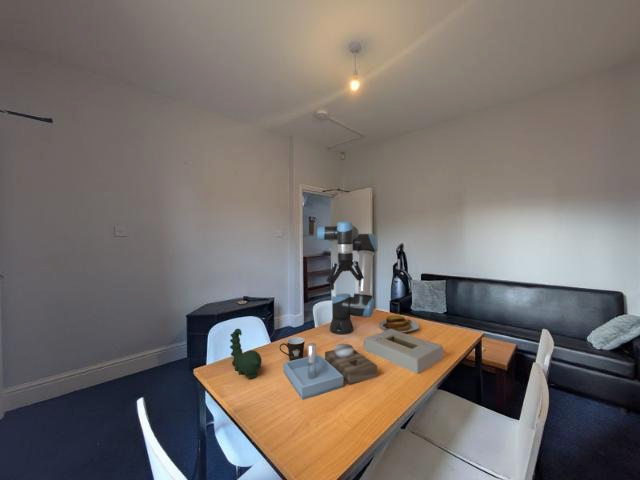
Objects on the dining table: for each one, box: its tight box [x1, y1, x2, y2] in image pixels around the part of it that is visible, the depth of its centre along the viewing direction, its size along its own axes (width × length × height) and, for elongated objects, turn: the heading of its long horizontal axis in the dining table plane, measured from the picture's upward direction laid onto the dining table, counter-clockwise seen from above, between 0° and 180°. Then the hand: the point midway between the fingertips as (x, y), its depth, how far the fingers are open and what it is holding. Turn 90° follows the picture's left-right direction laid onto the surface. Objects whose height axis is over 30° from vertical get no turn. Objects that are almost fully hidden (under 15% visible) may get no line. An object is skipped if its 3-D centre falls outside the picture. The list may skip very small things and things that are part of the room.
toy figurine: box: [229, 328, 262, 380], centre depth 118 cm, size 9×19×25 cm
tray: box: [283, 354, 344, 401], centre depth 111 cm, size 22×18×4 cm
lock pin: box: [307, 342, 317, 379], centre depth 111 cm, size 4×4×14 cm
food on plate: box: [379, 315, 421, 334], centre depth 173 cm, size 25×25×7 cm
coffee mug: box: [279, 336, 306, 361], centre depth 129 cm, size 12×9×10 cm
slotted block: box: [363, 329, 444, 375], centre depth 134 cm, size 23×8×32 cm
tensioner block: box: [324, 343, 378, 386], centre depth 120 cm, size 22×14×8 cm, turn 26°
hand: (345, 294), depth 132 cm, fingers open, 13 cm apart
